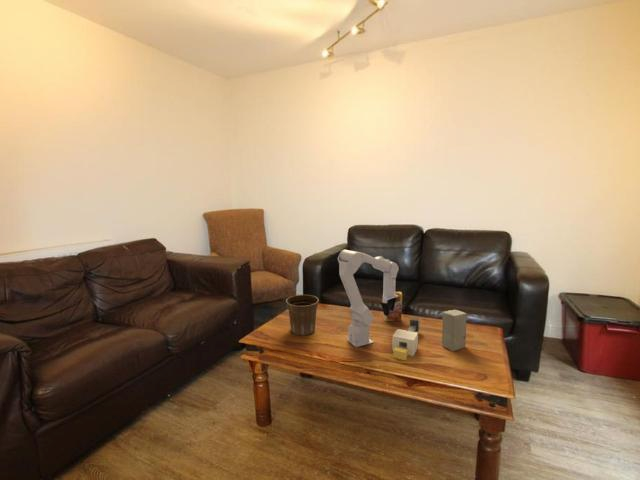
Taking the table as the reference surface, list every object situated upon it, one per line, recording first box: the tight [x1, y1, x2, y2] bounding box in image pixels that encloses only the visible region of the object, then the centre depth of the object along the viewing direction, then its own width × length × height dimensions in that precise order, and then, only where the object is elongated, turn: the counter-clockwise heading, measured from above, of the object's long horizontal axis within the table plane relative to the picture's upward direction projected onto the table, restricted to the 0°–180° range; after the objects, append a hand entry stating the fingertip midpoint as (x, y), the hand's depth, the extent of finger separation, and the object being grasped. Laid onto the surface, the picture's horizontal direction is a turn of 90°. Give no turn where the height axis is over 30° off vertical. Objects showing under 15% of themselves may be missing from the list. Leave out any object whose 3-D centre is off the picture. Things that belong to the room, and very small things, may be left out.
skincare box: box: [441, 309, 468, 352], centre depth 140 cm, size 8×7×16 cm
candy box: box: [382, 291, 403, 322], centre depth 171 cm, size 9×4×15 cm, turn 98°
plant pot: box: [285, 294, 320, 336], centre depth 159 cm, size 16×16×16 cm
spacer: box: [393, 347, 408, 361], centre depth 133 cm, size 4×5×3 cm
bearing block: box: [391, 328, 419, 357], centre depth 139 cm, size 8×9×7 cm
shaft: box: [402, 317, 421, 346], centre depth 147 cm, size 21×4×6 cm, turn 151°
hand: (388, 312), depth 156 cm, fingers open, 7 cm apart
